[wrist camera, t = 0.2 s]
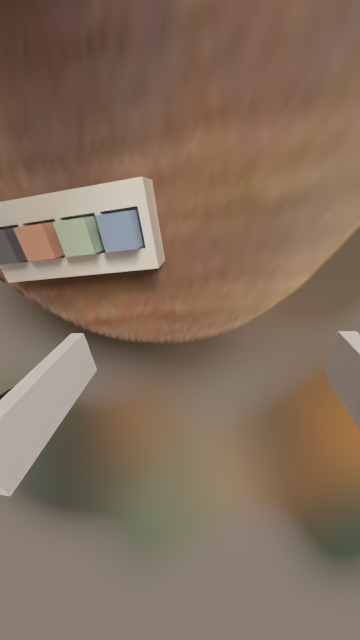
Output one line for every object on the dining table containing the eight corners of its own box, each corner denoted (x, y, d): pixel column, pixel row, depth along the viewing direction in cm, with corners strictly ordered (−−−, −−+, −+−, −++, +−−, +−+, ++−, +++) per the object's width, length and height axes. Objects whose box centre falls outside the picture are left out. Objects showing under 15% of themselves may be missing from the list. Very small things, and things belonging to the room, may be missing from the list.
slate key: (104, 214, 31) (94, 215, 28) (136, 209, 30) (128, 210, 27) (114, 248, 33) (105, 252, 30) (143, 245, 32) (137, 249, 29)
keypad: (-3, 206, 37) (-32, 207, 32) (151, 179, 32) (142, 176, 27) (29, 274, 42) (8, 282, 38) (164, 260, 37) (158, 268, 33)
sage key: (65, 220, 32) (52, 222, 29) (94, 215, 31) (83, 217, 28) (76, 252, 34) (65, 257, 31) (104, 249, 33) (94, 253, 31)
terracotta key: (28, 225, 33) (12, 227, 30) (55, 221, 32) (41, 223, 29) (41, 257, 35) (28, 261, 33) (67, 254, 34) (55, 258, 32)
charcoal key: (-7, 231, 34) (-25, 233, 31) (19, 227, 33) (2, 229, 31) (9, 260, 36) (-7, 265, 34) (33, 258, 35) (18, 262, 33)
